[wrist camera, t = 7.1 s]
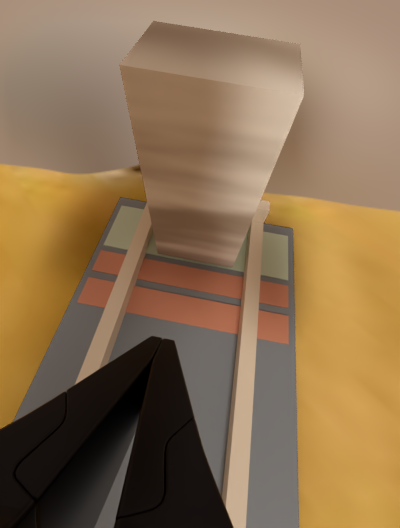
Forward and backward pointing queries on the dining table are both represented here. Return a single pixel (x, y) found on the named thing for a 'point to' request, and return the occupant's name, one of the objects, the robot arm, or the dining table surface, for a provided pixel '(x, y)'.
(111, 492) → the track
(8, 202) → the dining table surface
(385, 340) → the dining table surface
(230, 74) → the cream block
